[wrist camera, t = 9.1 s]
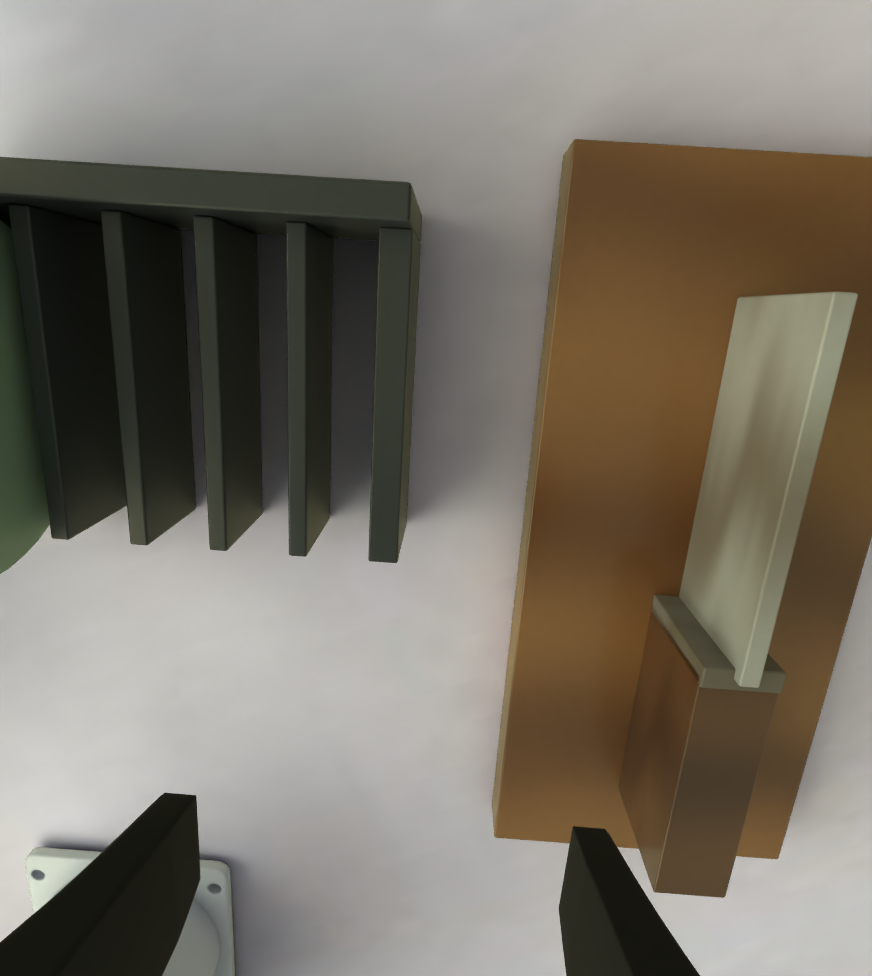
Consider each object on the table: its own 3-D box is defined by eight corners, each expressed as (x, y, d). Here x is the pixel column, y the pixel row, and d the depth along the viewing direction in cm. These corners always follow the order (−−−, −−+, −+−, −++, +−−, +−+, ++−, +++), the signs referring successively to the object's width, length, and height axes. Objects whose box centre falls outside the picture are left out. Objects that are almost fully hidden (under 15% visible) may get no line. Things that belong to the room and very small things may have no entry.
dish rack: (405, 539, 19) (363, 731, 11) (41, 514, 20) (-303, 681, 11) (422, 212, 17) (383, 99, 8) (-3, 186, 17) (-517, 44, 8)
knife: (677, 792, 20) (731, 912, 16) (617, 788, 20) (657, 907, 16) (784, 299, 16) (898, 295, 12) (708, 294, 16) (796, 288, 12)
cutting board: (758, 824, 22) (778, 860, 21) (491, 804, 22) (494, 838, 21) (934, 176, 16) (981, 162, 15) (563, 153, 16) (573, 138, 15)
